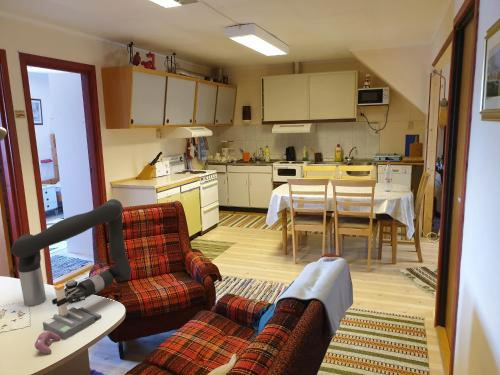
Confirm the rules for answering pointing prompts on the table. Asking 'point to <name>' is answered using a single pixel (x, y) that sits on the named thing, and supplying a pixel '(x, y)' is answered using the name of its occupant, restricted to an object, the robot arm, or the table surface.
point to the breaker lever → (60, 295)
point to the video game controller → (45, 341)
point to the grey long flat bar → (91, 313)
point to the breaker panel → (69, 323)
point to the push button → (71, 284)
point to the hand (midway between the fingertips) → (54, 303)
